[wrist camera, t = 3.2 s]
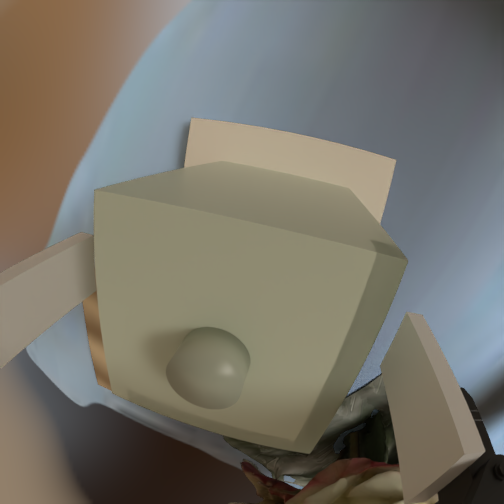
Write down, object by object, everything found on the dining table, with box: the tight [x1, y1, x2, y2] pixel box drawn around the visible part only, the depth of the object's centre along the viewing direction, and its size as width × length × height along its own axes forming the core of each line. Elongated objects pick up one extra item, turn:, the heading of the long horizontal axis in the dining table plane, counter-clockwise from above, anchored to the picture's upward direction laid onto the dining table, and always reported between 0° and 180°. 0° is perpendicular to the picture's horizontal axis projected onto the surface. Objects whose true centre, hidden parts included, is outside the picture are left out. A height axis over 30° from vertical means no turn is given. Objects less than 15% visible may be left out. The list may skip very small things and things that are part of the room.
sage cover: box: [94, 161, 408, 454], centre depth 13 cm, size 8×8×13 cm
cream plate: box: [184, 118, 396, 224], centre depth 18 cm, size 13×13×3 cm
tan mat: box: [83, 274, 112, 391], centre depth 27 cm, size 16×11×1 cm
